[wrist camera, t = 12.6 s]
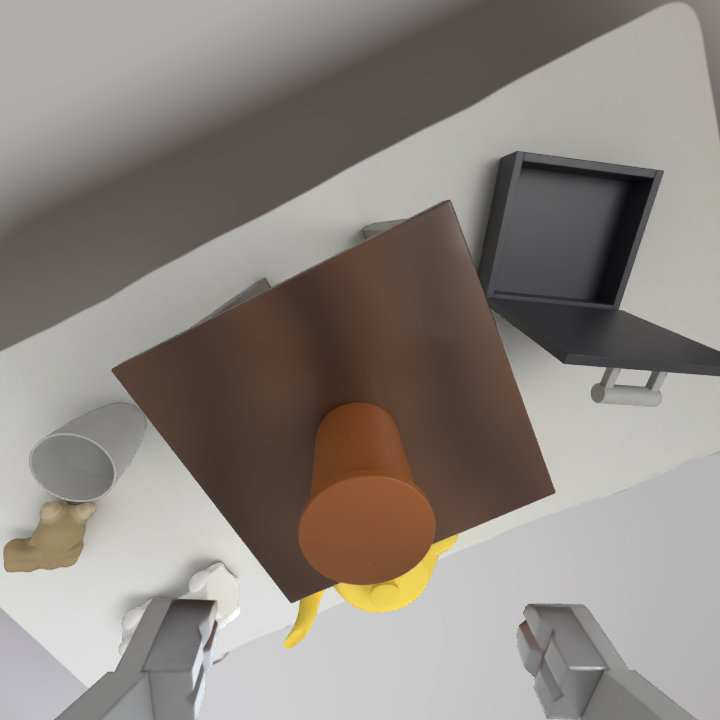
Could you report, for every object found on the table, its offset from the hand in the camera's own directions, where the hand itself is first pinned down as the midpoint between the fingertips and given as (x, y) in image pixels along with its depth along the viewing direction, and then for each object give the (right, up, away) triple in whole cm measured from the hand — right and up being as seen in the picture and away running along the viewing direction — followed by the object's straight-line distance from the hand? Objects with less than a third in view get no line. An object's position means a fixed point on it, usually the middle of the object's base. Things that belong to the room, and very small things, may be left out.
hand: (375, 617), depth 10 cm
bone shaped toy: (-26, -28, +47) cm, 61 cm away
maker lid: (+22, +10, +25) cm, 34 cm away
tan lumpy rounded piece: (-39, -14, +42) cm, 59 cm away
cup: (-30, -1, +38) cm, 48 cm away
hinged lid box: (+22, +21, +33) cm, 45 cm away
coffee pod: (-1, +3, +8) cm, 9 cm away
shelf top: (-1, +3, +9) cm, 10 cm away
